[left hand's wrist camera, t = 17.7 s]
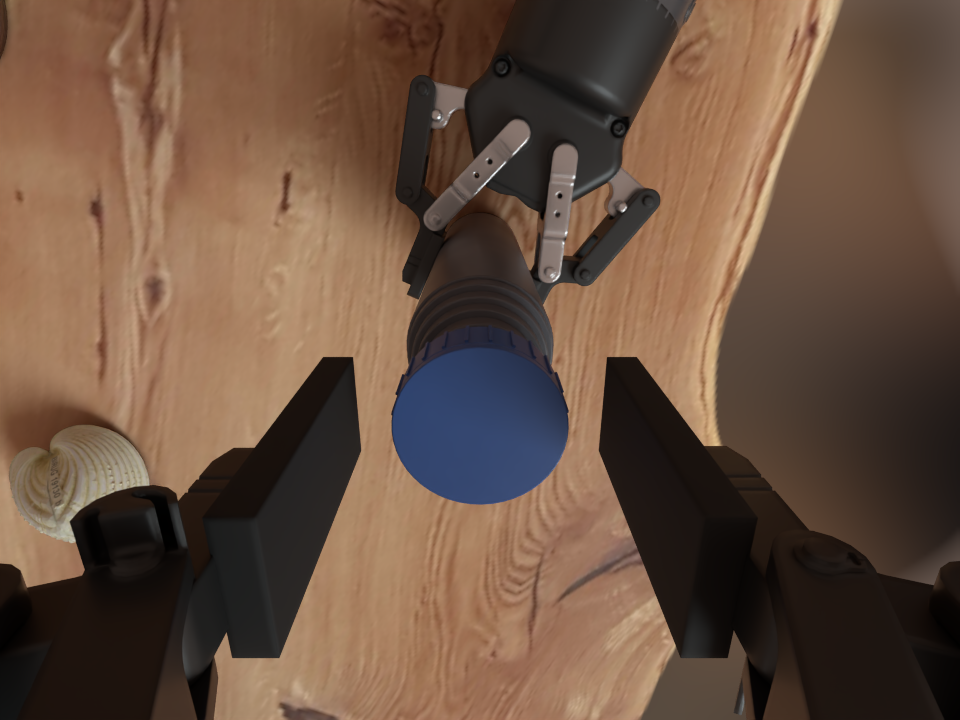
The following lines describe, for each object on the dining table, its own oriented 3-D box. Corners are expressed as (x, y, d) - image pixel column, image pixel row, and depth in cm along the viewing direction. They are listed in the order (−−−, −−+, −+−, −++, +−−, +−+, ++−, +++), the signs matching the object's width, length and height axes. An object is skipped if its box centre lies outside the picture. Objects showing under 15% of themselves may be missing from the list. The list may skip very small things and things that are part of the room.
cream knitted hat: (87, 402, 37) (130, 509, 36) (146, 425, 45) (184, 512, 44) (-43, 462, 35) (-4, 577, 34) (43, 474, 43) (78, 567, 42)
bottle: (531, 263, 36) (615, 449, 14) (468, 301, 37) (449, 534, 15) (492, 197, 35) (516, 284, 12) (427, 238, 36) (338, 391, 13)
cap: (477, 288, 14) (478, 306, 12) (594, 399, 15) (608, 428, 13) (365, 403, 15) (352, 432, 13) (481, 498, 16) (481, 535, 14)
